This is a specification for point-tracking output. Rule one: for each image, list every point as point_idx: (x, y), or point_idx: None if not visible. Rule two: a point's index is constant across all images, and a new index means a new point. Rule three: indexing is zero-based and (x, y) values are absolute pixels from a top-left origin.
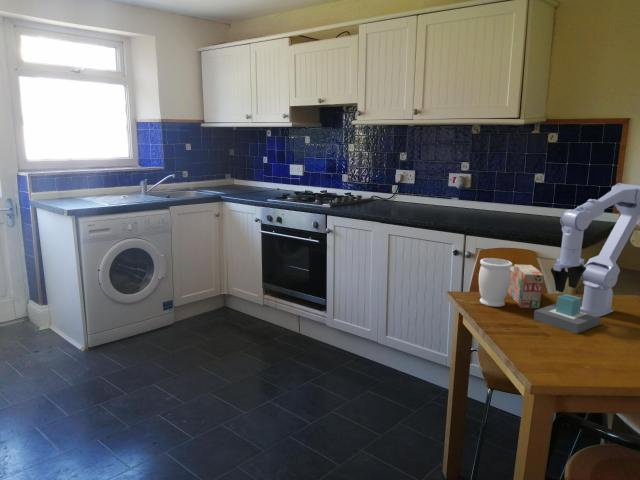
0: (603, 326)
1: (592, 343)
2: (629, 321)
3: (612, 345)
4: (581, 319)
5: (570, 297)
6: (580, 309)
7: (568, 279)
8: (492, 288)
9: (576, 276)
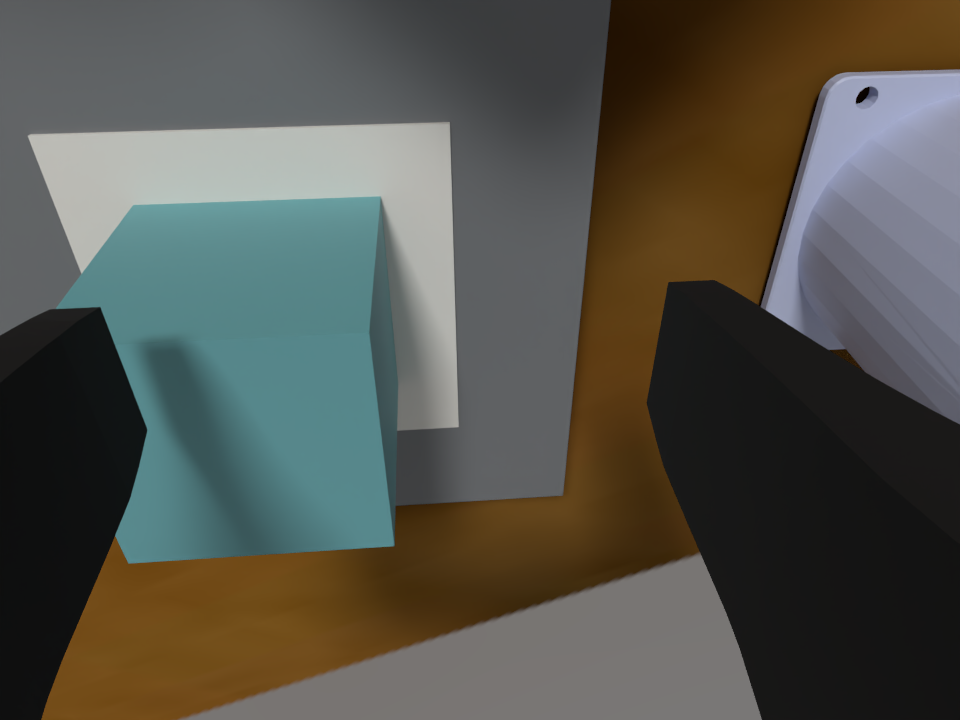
0: None
1: None
2: None
3: (199, 630)
4: None
5: (244, 470)
6: (562, 314)
7: (755, 362)
8: None
9: (771, 652)
